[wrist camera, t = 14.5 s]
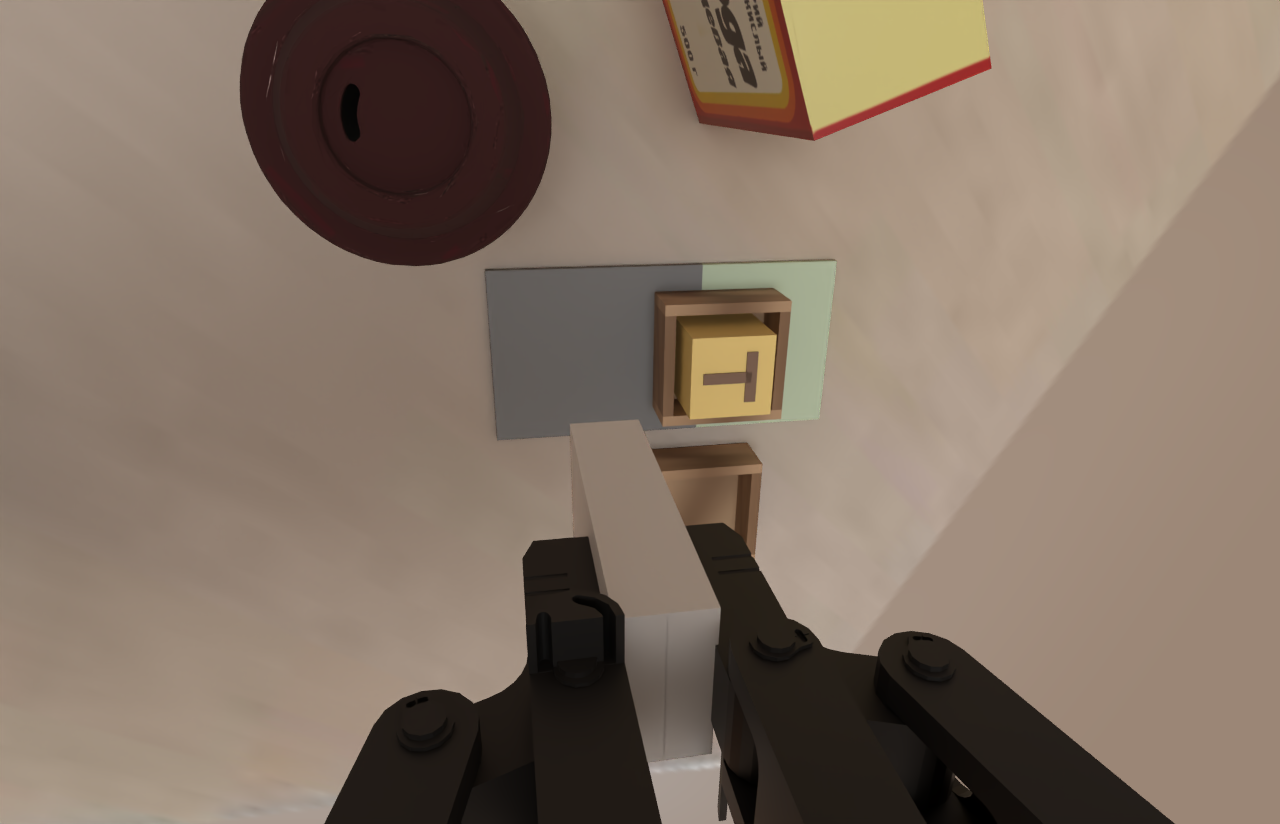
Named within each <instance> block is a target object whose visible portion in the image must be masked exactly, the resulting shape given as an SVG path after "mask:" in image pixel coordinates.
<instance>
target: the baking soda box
mask: <svg viewBox="0 0 1280 824" xmlns="http://www.w3.org/2000/svg"><path fill="white" fill-rule="evenodd" d="M662 1H663V4H664V7H665V11H666V14H667V17H668V20H669V24H670V27H671V30H672V34H673V37H674V40H675V43H676V47H677V50H678V53H679V57H680V60H681V63H682V67H683V70H684V73H685V76H686V80H687V83H688V86H689V90H690V93H691V96H692V100H693V103H694V106H695V109H696V113H697V116H698V119H699V123H702V124H708V125H715V126H722V127H728V128H735V129H741V130H748V131H754V132H761V133H767V134H774V135H781V136H787V137H794V138H800V139H807V140H813V141H815V140H817V139H820V138H822V137H824V136H827V135H829V134H832V133H834V132H837V131H839V130H842V129H844V128H847V127H849V126H851V125H854V124H856V123H859V122H861V121H864V120H866V119H869V118H871V117H874V116H876V115H878V114H881V113H883V112H886V111H888V110H891V109H893V108H896V107H898V106H901V105H903V104H905V103H908V102H910V101H913V100H915V99H918V98H920V97H923V96H925V95H928V94H930V93H932V92H935V91H937V90H940V89H942V88H945V87H947V86H950V85H952V84H954V83H957V82H959V81H962V80H964V79H967V78H969V77H972V76H974V75H977V74H979V73H981V72H984V71H986V70H989V69H991V61H990V54H989V46H988V39H987V31H986V24H985V16H984V9H983V1H982V0H662Z"/></svg>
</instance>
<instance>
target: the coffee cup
mask: <svg viewBox="0 0 1280 824" xmlns="http://www.w3.org/2000/svg"><path fill="white" fill-rule="evenodd" d="M240 104H241V110H242V117H243V122H244V126H245V129H246V133H247V136H248V139H249V142H250V145H251V148H252V151H253V153H254V155H255V158H256V160H257V162H258V164H259V166H260V168H261V170H262V172H263V173H264V175H265V177H266V179H267V180H268V182H269V183H270V185H271V186H272V188H273V189H274V191H275V192H276V194H277V195H278V196H279V198H280V199H281V200H282V201H283V203H284V204H285V205H286V206H287V207H288V208H289V209H290V210H291V211H292V212H293V213H294V214H295V215H296V216H297V217H298V218H299V219H300V220H301V221H302V222H303V223H305V224H306V225H307V226H308V227H309V228H310V229H312V230H313V231H314V232H316V233H317V234H319V235H320V236H321V237H323V238H325V239H326V240H328V241H329V242H331V243H332V244H334V245H336V246H338V247H340V248H342V249H344V250H346V251H348V252H350V253H353V254H355V255H358V256H360V257H363V258H366V259H370V260H373V261H376V262H381V263H386V264H391V265H408V266H424V265H434V264H441V263H445V262H449V261H452V260H456V259H459V258H463V257H465V256H468V255H470V254H472V253H475V252H477V251H478V250H480V249H482V248H484V247H485V246H487V245H489V244H490V243H492V242H493V241H494V240H496V239H497V238H499V237H500V236H501V235H502V234H503V233H505V232H506V231H507V230H508V229H509V228H510V227H511V226H512V225H513V224H514V223H515V222H516V221H517V219H518V218H519V217H520V216H521V214H522V213H523V212H524V210H525V209H526V208H527V206H528V205H529V203H530V201H531V200H532V198H533V196H534V195H535V193H536V190H537V188H538V186H539V184H540V182H541V179H542V176H543V173H544V170H545V167H546V163H547V159H548V154H549V149H550V140H551V109H550V98H549V94H548V89H547V84H546V80H545V76H544V73H543V71H542V68H541V65H540V62H539V60H538V57H537V54H536V52H535V50H534V48H533V46H532V44H531V42H530V40H529V38H528V36H527V34H526V33H525V31H524V30H523V28H522V27H521V25H520V23H519V22H518V21H517V19H516V18H515V17H514V15H513V14H512V13H511V12H510V11H509V9H508V8H507V7H506V6H505V5H504V3H503V2H502V1H501V0H266V1H265V3H264V4H263V6H262V7H261V9H260V11H259V12H258V14H257V16H256V18H255V20H254V22H253V24H252V27H251V29H250V31H249V34H248V37H247V40H246V43H245V47H244V52H243V57H242V65H241V74H240Z"/></svg>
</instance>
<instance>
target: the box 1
mask: <svg viewBox="0 0 1280 824" xmlns="http://www.w3.org/2000/svg"><path fill="white" fill-rule="evenodd" d="M791 306H792V301H791V300H790V299H789V298H787V297H786V296H784V295H783V294H782V293H780V292H779V291H777V290H776V289H774V288H751V289H720V290H690V291H660V292H655V299H654V352H653V408H654V410H655V412H656V414H657V416H658V418H659V420H660V422H661V424H662V426H663V427H665V426H681V425H697V424H712V423H728V422H744V421H760V420H775V419H781V414H782V403H783V392H784V382H785V371H786V360H787V349H788V338H789V328H790V317H791ZM743 313H752V314H753V315H754V316H755V317H756V318H758V319H759V320H760V321H761V322H762V323H763V324H765V325H766V326H767V327H768V328H769V329H770V330H772V331H773V332H774V333H775V334H776V335H777V338H776V350H775V362H774V374H773V386H772V398H771V410H770V414H767V415H751V416H736V417H720V418H705V419H689V417H688V416H687V414H686V412H685V411H684V409H683V407H682V406H681V404H680V402H679V401H678V399H677V397H676V395H675V394H674V378H675V345H676V316H691V315H717V314H743Z"/></svg>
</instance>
